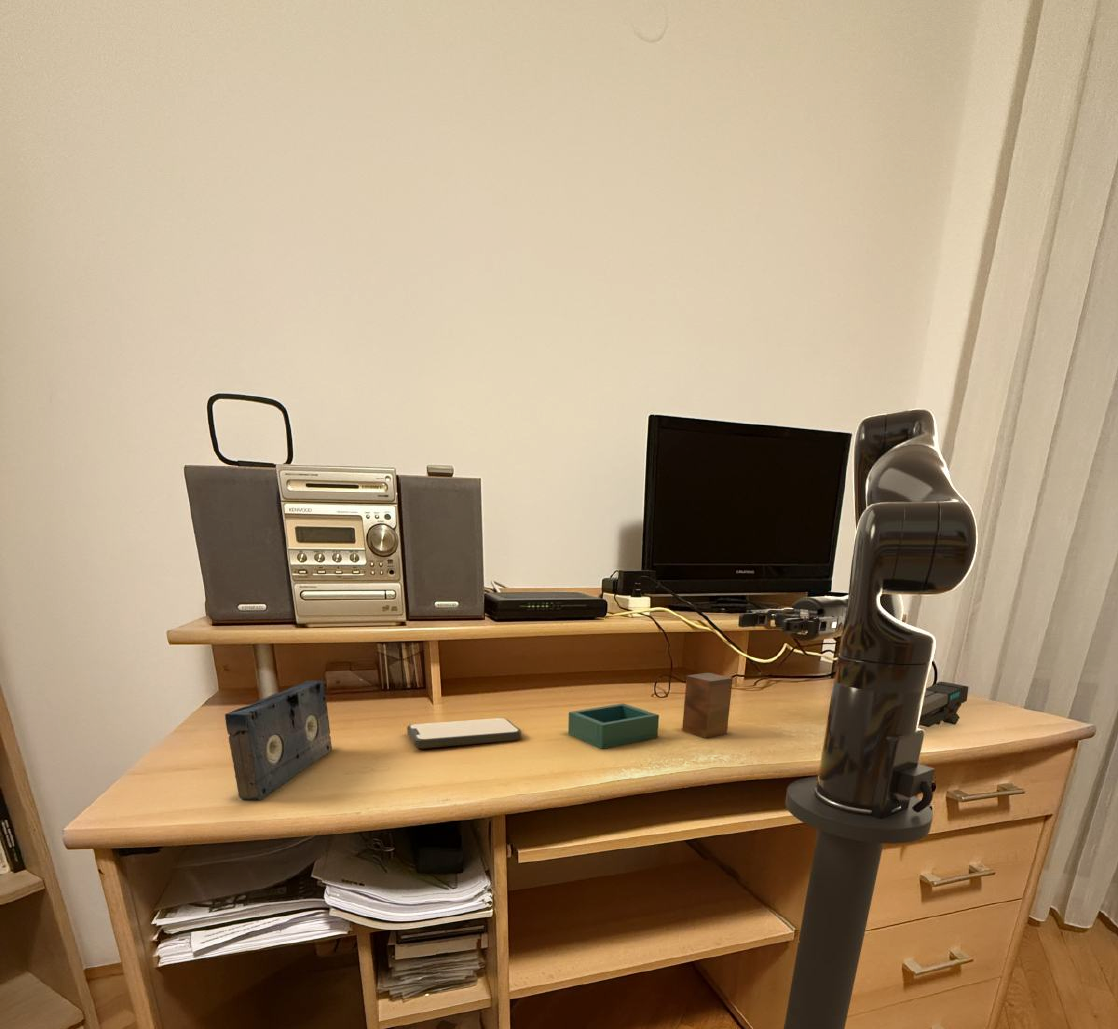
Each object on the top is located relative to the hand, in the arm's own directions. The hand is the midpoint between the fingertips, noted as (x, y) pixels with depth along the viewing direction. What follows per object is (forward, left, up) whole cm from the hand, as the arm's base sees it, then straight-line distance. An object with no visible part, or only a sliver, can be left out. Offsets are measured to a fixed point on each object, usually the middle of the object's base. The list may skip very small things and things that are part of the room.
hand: (761, 623), depth 95 cm
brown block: (0, +11, -17) cm, 20 cm away
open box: (+6, +25, -17) cm, 31 cm away
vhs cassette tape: (+15, +70, -17) cm, 74 cm away
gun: (-18, -20, -17) cm, 32 cm away
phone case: (+17, +45, -17) cm, 51 cm away
